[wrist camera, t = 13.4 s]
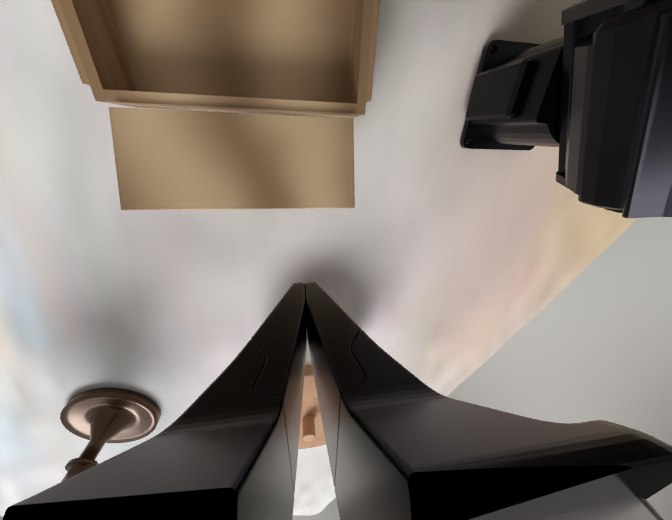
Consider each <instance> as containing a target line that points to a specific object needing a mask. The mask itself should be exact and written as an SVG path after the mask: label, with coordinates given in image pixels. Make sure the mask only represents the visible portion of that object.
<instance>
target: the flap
mask: <svg viewBox="0 0 672 520" xmlns="http://www.w3.org/2000/svg"><path fill="white" fill-rule="evenodd" d="M109 112H110V120H111V128H112V137H113V145H114V154H115V162H116V170H117V179H118V187H119V195H120V204H121V210H193V209H305V208H355V199H354V138H353V119H351V118H330V117H308V116H287V115H266V114H244V113H223V112H202V111H180V110H159V109H138V108H117V107H109Z"/></svg>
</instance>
